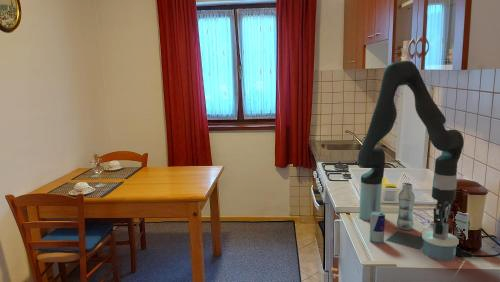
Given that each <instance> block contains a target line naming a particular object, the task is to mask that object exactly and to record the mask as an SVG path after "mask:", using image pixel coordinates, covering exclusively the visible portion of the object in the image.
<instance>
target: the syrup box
mask: <svg viewBox="0 0 500 282" xmlns="http://www.w3.org/2000/svg"><path fill="white" fill-rule="evenodd" d="M469 218H470V217H469V214H468V213H462V212H457V214H456V216H455V219H456V224H457V225H456V227H458V228H460V229H462V231H463V229H465V231H463V233H464V234H465V236H466V240H467V239H468V231H469V230H468V229H469V226H470V219H469Z"/></svg>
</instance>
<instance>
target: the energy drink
mask: <svg viewBox="0 0 500 282" xmlns="http://www.w3.org/2000/svg"><path fill="white" fill-rule="evenodd" d="M385 221H386V214H385V213H384V212H383V211H381V210H380V211H373V212H371V219H370V221H369V223H370V224H369V239H368V240H369V243H371V244H372V245H383V244H384V242H385V228H386V227H385V226H386V224H385V223H386V222H385Z"/></svg>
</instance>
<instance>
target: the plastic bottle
mask: <svg viewBox="0 0 500 282" xmlns="http://www.w3.org/2000/svg"><path fill="white" fill-rule="evenodd" d="M401 188H402V189H401V190H400V191H399V193H398V196H397V199H398V216H397V219H396V226H397V228H398V229H400V230H402V231H412V229H413V228H414V219H413V218H414V217H413V216H414V212H413V211H414V203H415V200H416V196H415V194H414V192H413V191H412V189H413V183H409V182H404V183H402V187H401Z"/></svg>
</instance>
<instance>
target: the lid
mask: <svg viewBox="0 0 500 282" xmlns="http://www.w3.org/2000/svg"><path fill="white" fill-rule="evenodd" d="M449 225H450V224H449V223H443V231H442V234H441V235H439V234H436V233H435V228H436V223H434V222H433V230H426V231H423V232H422V233H421V237H422V239H423V240H425V241H426V242H428V243H430V244H433V245H437V246H444V247H453V246H456V247H457V245H458V244H459V239H458V238H457V237H456V236H454V235H453V233H449Z"/></svg>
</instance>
